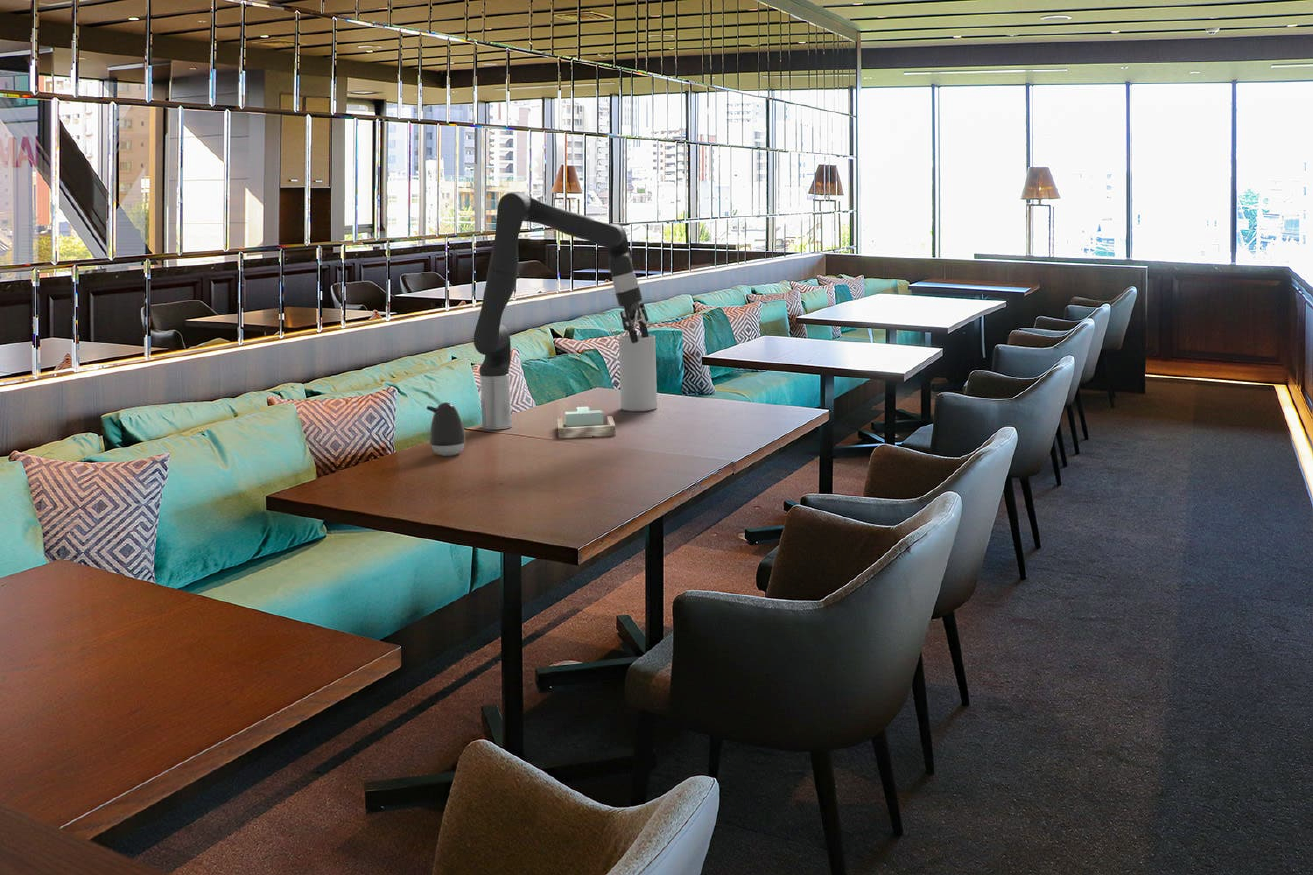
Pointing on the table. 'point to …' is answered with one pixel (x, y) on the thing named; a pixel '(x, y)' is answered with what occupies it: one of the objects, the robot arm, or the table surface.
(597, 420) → the t block
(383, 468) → the table surface
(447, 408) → the pump dispenser
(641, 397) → the cylinder vase
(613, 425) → the shallow wooden tray
